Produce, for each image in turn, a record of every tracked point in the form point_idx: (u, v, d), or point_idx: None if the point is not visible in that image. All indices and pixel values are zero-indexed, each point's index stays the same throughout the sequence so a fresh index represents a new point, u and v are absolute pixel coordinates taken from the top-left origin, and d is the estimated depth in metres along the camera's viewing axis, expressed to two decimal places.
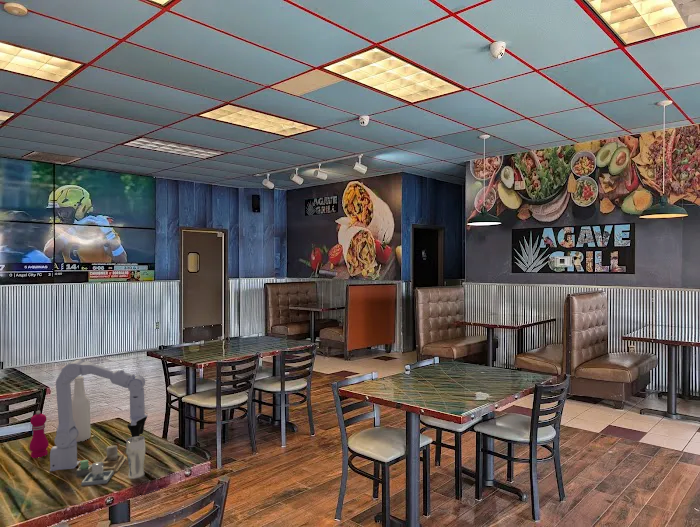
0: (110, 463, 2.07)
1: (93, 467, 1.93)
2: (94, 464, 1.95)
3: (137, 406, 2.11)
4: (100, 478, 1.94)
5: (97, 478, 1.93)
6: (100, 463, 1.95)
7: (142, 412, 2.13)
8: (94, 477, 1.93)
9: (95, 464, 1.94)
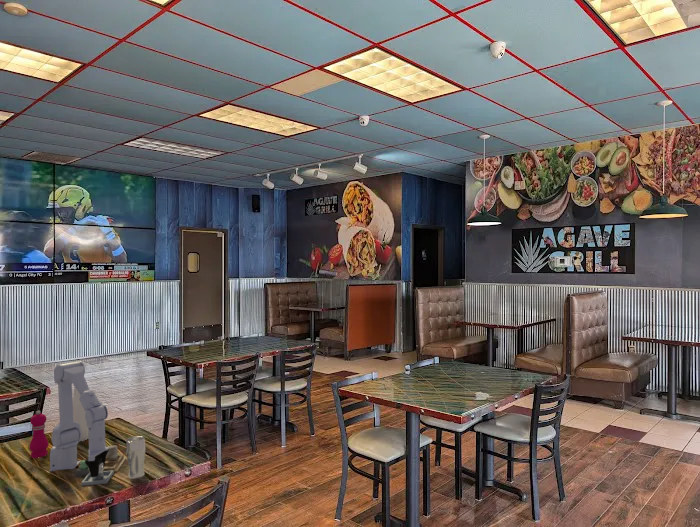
0: (110, 463, 2.07)
1: None
2: None
3: (90, 439, 1.92)
4: (100, 478, 1.94)
5: (97, 478, 1.93)
6: (100, 463, 1.95)
7: (102, 445, 1.94)
8: (94, 477, 1.93)
9: None
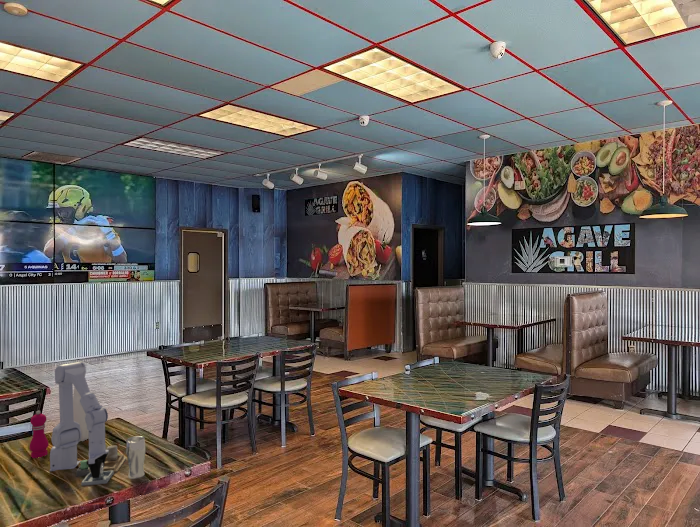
0: (110, 463, 2.07)
1: None
2: None
3: (90, 442, 1.92)
4: (100, 478, 1.94)
5: (97, 478, 1.93)
6: None
7: (102, 448, 1.94)
8: None
9: None
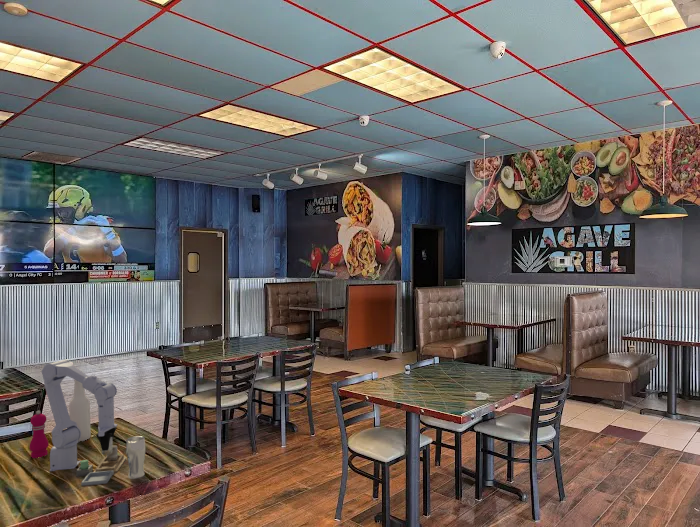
0: (110, 463, 2.07)
1: None
2: None
3: (102, 416, 2.01)
4: (109, 451, 2.03)
5: (107, 451, 2.02)
6: None
7: (111, 422, 2.03)
8: None
9: None
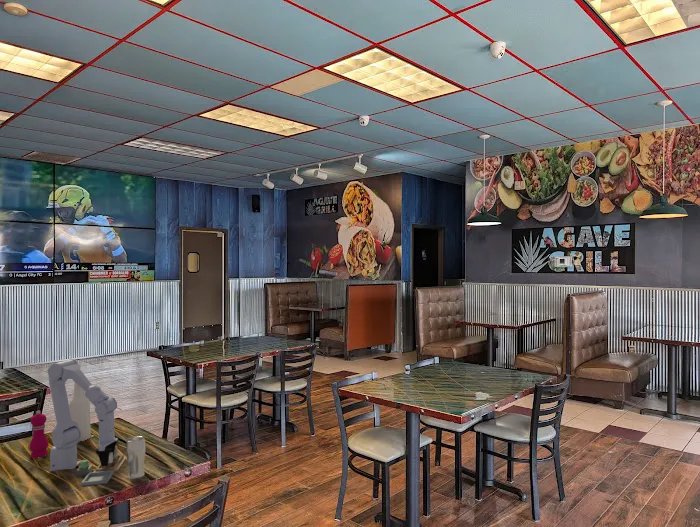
0: None
1: None
2: None
3: (103, 430, 2.01)
4: None
5: (107, 467, 2.02)
6: (110, 452, 2.04)
7: (111, 436, 2.03)
8: (104, 466, 2.02)
9: None
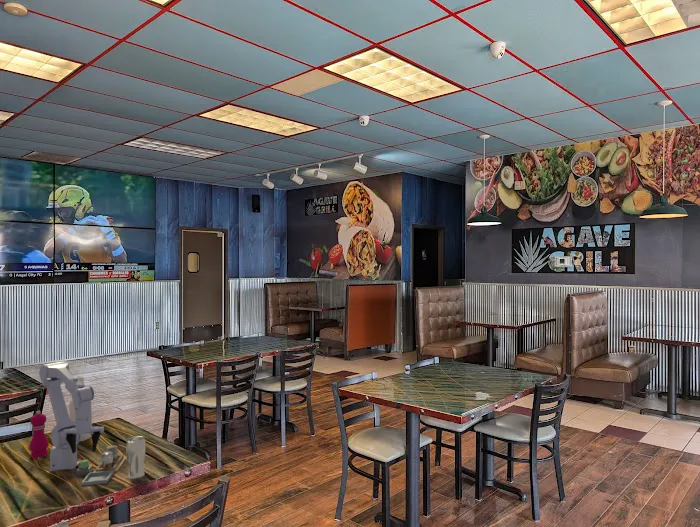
0: None
1: (103, 456, 2.02)
2: (104, 453, 2.03)
3: (77, 419, 1.98)
4: None
5: (107, 467, 2.02)
6: (109, 452, 2.04)
7: (77, 426, 1.98)
8: (104, 466, 2.02)
9: (105, 454, 2.03)
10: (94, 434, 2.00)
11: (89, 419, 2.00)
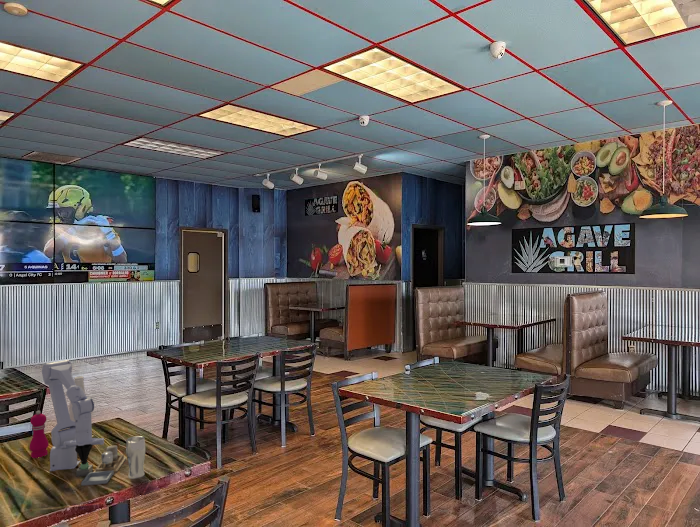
0: None
1: (103, 456, 2.02)
2: (104, 453, 2.03)
3: (77, 431, 1.98)
4: None
5: (107, 467, 2.02)
6: (109, 452, 2.04)
7: (77, 438, 1.98)
8: (104, 466, 2.02)
9: (105, 454, 2.03)
10: None
11: (89, 431, 2.00)
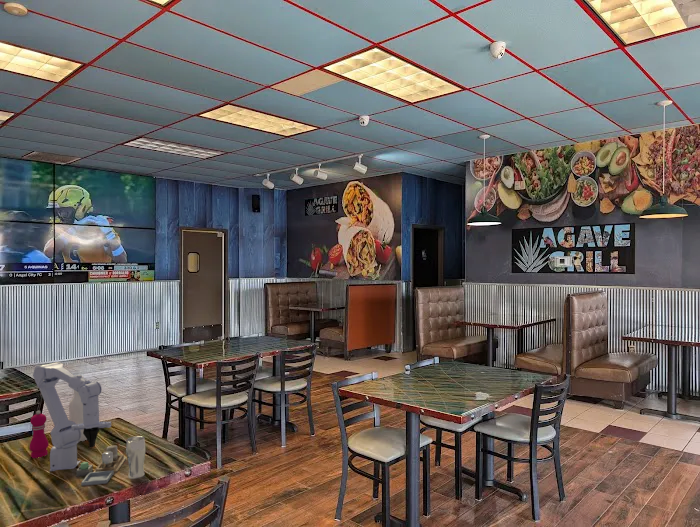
0: None
1: (103, 456, 2.02)
2: (104, 453, 2.04)
3: (86, 414, 2.00)
4: (109, 467, 2.03)
5: (107, 467, 2.02)
6: (110, 452, 2.05)
7: (85, 422, 2.01)
8: (104, 466, 2.02)
9: (105, 454, 2.03)
10: None
11: (96, 414, 2.03)
